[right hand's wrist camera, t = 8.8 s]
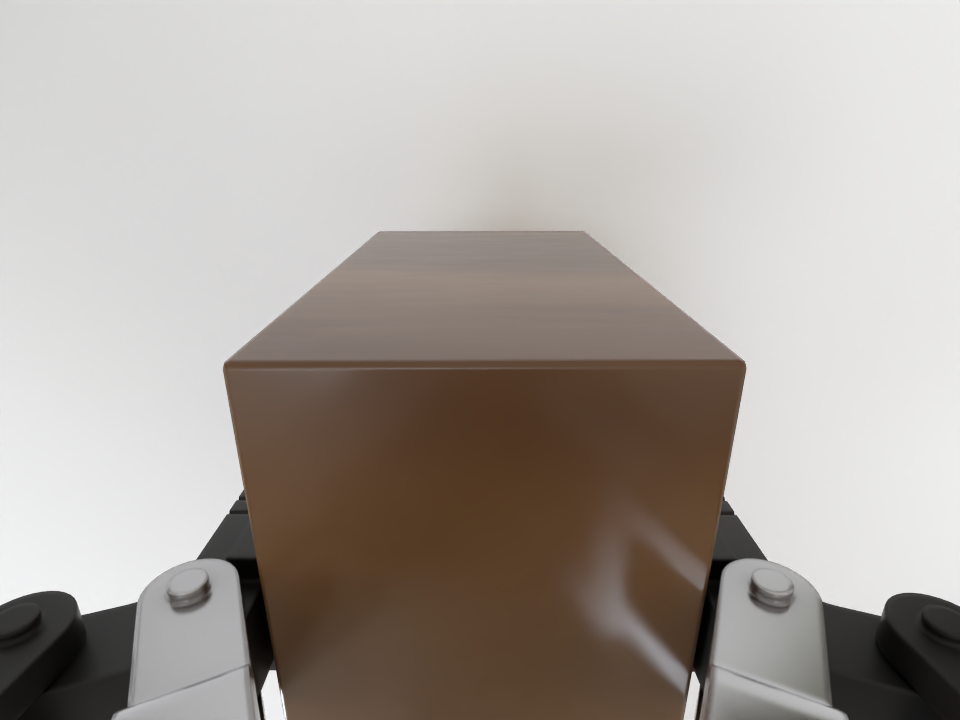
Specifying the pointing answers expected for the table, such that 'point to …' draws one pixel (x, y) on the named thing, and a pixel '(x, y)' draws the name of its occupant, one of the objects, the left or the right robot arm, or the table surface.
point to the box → (484, 482)
